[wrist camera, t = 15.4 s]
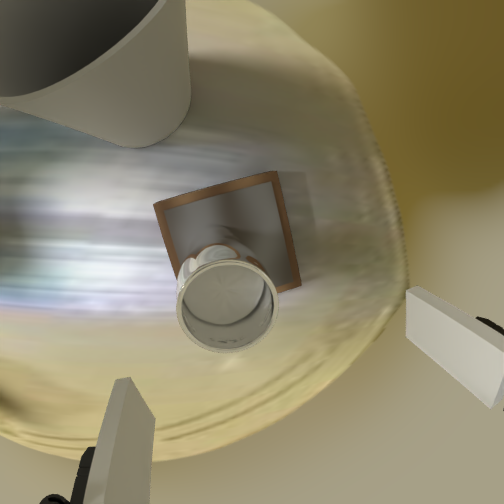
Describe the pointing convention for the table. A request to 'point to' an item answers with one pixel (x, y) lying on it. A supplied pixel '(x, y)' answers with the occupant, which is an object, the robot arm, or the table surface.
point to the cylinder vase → (98, 65)
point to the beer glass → (224, 293)
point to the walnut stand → (235, 223)
